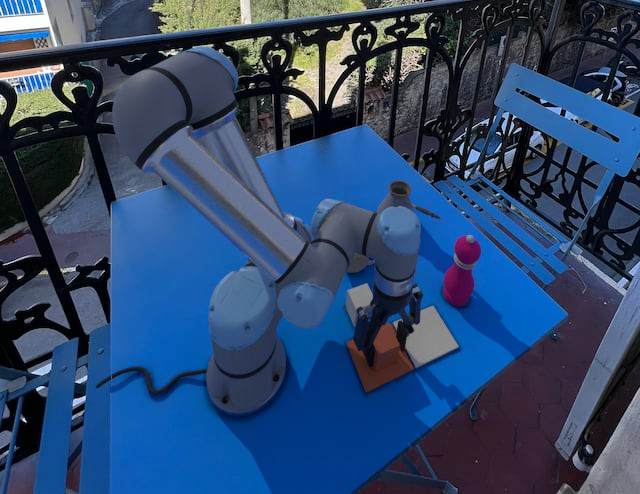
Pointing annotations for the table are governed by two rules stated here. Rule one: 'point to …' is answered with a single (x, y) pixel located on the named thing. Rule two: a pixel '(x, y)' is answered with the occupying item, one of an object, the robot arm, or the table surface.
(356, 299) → the cream block
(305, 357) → the table surface
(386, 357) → the terracotta block
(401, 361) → the terracotta mat
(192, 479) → the table surface
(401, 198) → the coffee pot
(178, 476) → the table surface
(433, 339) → the cream mat
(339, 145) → the table surface
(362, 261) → the ceramic mug
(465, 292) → the pepper mill
